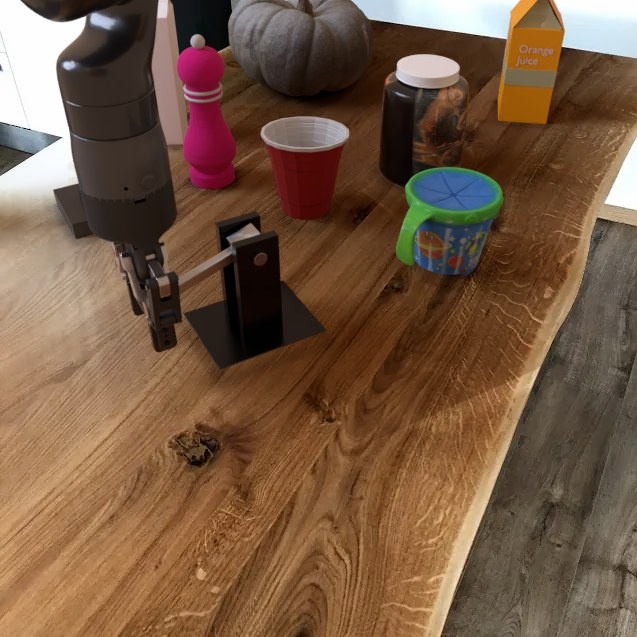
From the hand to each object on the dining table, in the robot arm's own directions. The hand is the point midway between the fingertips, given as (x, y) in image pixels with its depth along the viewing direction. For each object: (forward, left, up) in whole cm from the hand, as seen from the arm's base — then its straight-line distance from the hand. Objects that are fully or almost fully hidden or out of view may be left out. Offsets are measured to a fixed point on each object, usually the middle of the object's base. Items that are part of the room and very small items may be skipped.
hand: (154, 328), depth 71 cm
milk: (+18, +49, -5) cm, 53 cm away
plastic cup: (+26, +18, -5) cm, 32 cm away
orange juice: (+72, +29, -5) cm, 78 cm away
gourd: (+47, +58, -5) cm, 75 cm away
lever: (+6, 0, +4) cm, 7 cm away
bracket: (+10, 0, -5) cm, 11 cm away
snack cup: (+35, 0, -5) cm, 36 cm away
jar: (+46, +21, -5) cm, 51 cm away
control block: (+4, +32, -5) cm, 33 cm away
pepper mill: (+19, +33, -5) cm, 39 cm away
